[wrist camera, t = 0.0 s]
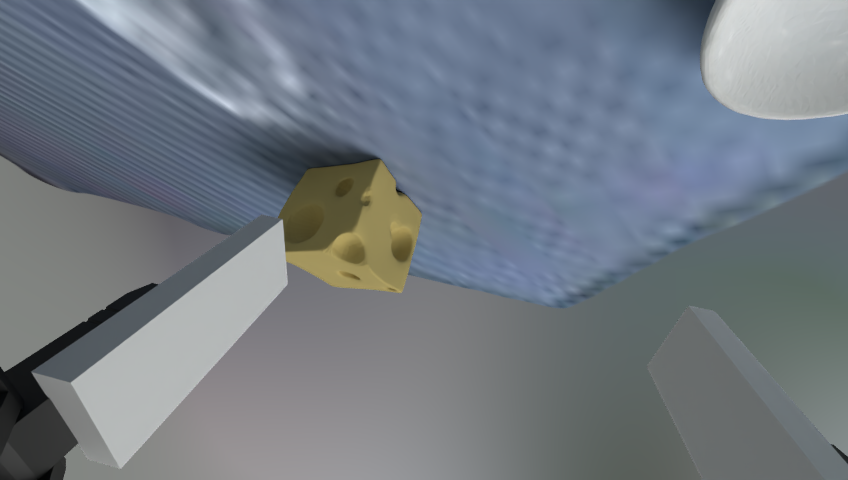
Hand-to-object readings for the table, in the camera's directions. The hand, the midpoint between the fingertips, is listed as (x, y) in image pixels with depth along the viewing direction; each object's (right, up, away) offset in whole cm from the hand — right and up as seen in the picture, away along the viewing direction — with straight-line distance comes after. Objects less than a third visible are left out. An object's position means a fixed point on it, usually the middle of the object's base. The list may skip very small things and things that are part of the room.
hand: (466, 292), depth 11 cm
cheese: (-8, +7, +27) cm, 29 cm away
